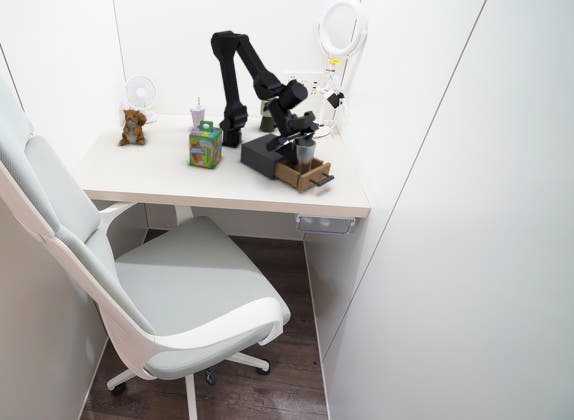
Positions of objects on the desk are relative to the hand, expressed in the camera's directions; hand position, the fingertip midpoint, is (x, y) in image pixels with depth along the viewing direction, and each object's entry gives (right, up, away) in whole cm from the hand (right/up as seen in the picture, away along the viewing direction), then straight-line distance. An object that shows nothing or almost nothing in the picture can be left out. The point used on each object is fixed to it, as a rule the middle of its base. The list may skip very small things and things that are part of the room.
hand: (304, 161), depth 100 cm
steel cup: (-1, -3, +4) cm, 5 cm away
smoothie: (-33, +19, +38) cm, 54 cm away
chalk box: (-30, +2, +16) cm, 34 cm away
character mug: (-4, +19, +36) cm, 41 cm away
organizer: (-8, +1, +13) cm, 15 cm away
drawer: (0, -5, +4) cm, 6 cm away
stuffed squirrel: (-59, +14, +33) cm, 69 cm away
